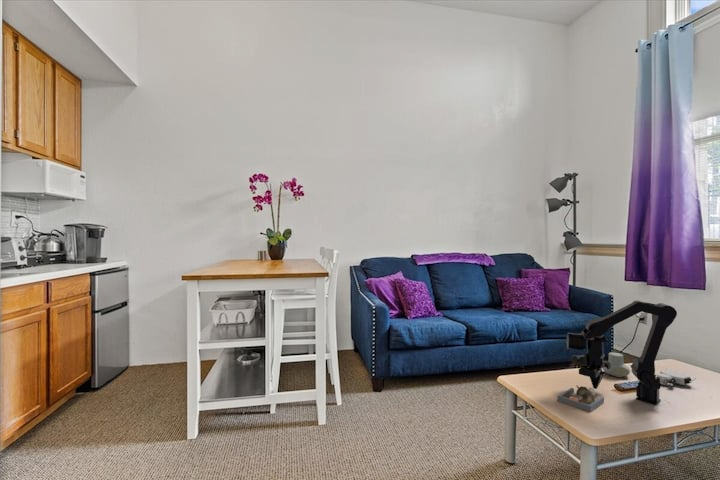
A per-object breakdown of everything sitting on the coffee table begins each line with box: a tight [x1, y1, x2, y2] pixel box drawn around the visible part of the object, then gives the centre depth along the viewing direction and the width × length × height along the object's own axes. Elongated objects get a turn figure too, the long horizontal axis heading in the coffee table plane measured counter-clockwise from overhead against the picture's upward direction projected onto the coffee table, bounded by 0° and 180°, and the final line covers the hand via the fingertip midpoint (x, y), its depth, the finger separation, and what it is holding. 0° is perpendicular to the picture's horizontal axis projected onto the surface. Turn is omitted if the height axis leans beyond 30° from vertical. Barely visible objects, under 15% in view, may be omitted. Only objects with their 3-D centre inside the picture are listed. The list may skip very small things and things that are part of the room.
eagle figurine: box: [575, 385, 596, 405], centre depth 144 cm, size 8×7×9 cm
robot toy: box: [654, 368, 697, 387], centre depth 164 cm, size 12×4×15 cm
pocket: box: [556, 387, 605, 413], centre depth 145 cm, size 12×13×3 cm
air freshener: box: [602, 351, 631, 378], centre depth 174 cm, size 11×8×10 cm
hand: (595, 388), depth 153 cm, fingers closed
